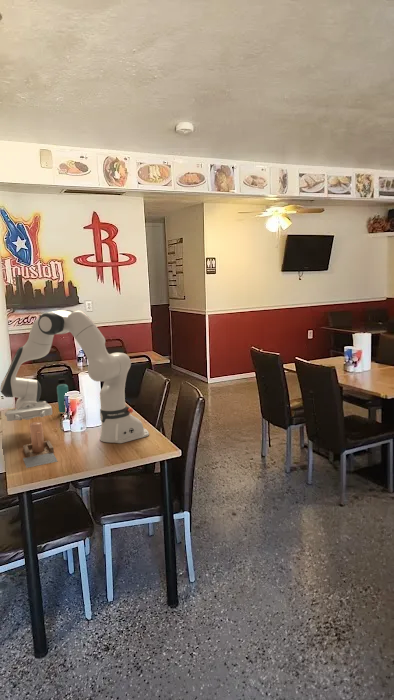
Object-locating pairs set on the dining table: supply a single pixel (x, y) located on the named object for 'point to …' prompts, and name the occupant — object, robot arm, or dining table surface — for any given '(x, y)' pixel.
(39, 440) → the tall peach cylinder
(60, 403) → the beverage bottle
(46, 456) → the mat
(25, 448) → the cradle
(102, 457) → the dining table surface
